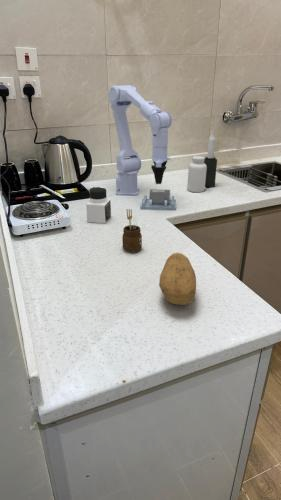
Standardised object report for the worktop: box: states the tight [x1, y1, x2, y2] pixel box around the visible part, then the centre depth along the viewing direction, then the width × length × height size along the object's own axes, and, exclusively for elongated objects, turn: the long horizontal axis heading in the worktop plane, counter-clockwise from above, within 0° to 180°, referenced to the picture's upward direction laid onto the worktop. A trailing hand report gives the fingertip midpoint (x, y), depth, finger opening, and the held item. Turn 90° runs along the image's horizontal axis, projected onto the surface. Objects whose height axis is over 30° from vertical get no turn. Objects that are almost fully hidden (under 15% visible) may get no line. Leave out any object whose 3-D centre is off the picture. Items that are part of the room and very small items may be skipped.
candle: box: [204, 130, 218, 189], centre depth 163 cm, size 5×5×25 cm
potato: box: [158, 252, 197, 306], centre depth 85 cm, size 9×16×9 cm, turn 173°
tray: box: [139, 194, 177, 211], centre depth 144 cm, size 14×10×4 cm
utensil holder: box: [121, 208, 143, 254], centre depth 108 cm, size 6×6×12 cm
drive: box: [148, 188, 171, 205], centre depth 144 cm, size 8×4×5 cm, turn 84°
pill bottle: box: [186, 155, 207, 193], centre depth 160 cm, size 8×8×15 cm
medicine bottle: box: [85, 186, 112, 224], centre depth 129 cm, size 7×7×12 cm
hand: (159, 181), depth 142 cm, fingers open, 7 cm apart
